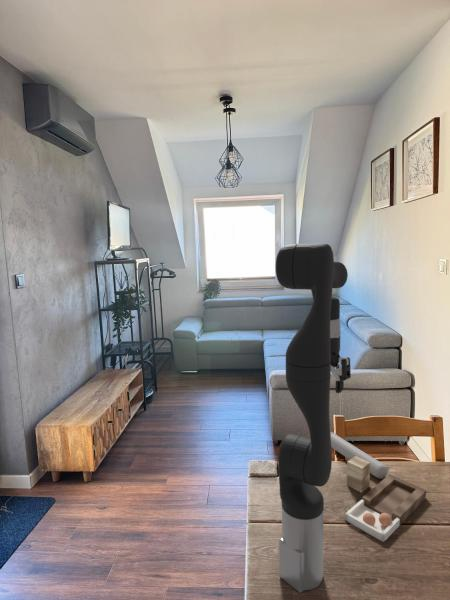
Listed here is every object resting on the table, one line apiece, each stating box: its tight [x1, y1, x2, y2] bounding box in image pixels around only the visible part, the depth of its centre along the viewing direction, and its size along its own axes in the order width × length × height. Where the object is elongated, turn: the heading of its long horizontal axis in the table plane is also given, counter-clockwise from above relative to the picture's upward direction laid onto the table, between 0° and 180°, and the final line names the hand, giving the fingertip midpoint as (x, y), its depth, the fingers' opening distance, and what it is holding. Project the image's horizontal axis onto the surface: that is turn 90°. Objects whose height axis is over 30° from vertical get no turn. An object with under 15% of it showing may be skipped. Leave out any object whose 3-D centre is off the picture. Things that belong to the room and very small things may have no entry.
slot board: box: [361, 473, 427, 526], centre depth 115 cm, size 16×11×2 cm
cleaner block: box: [346, 456, 371, 493], centre depth 123 cm, size 4×5×8 cm
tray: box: [344, 499, 401, 543], centre depth 107 cm, size 8×11×2 cm
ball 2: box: [379, 513, 392, 527], centre depth 106 cm, size 3×3×3 cm
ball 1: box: [363, 513, 375, 526], centre depth 106 cm, size 3×3×3 cm
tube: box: [330, 431, 389, 480], centre depth 136 cm, size 5×5×25 cm
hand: (325, 388), depth 115 cm, fingers open, 8 cm apart
